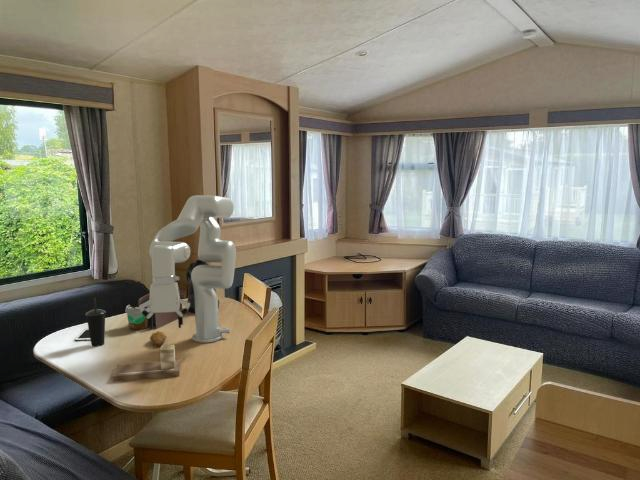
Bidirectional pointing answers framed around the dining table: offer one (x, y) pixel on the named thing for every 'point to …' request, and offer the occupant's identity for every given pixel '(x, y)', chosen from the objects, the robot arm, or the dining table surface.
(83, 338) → the cell phone
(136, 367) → the walnut board
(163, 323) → the letter holder
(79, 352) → the dining table surface
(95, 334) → the drinking cup
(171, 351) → the block
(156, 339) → the croissant
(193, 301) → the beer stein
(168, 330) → the dining table surface
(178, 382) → the dining table surface
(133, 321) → the food container
